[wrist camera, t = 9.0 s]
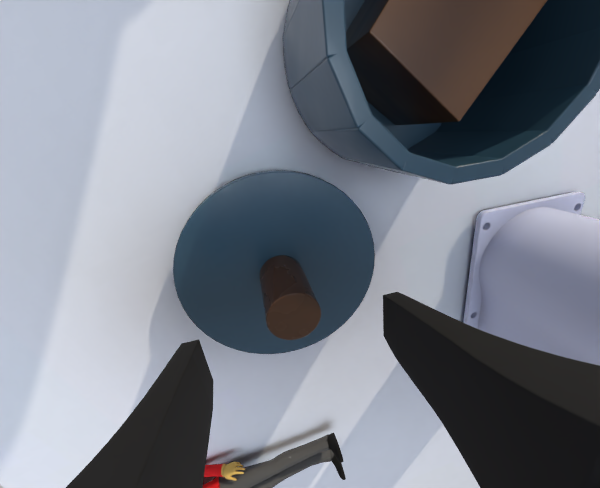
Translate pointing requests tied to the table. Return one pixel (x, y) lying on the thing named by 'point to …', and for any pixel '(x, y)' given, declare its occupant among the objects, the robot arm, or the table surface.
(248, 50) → the table surface
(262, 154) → the table surface
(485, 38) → the block
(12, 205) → the table surface
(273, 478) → the person figure
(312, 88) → the tin
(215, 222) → the tin lid
